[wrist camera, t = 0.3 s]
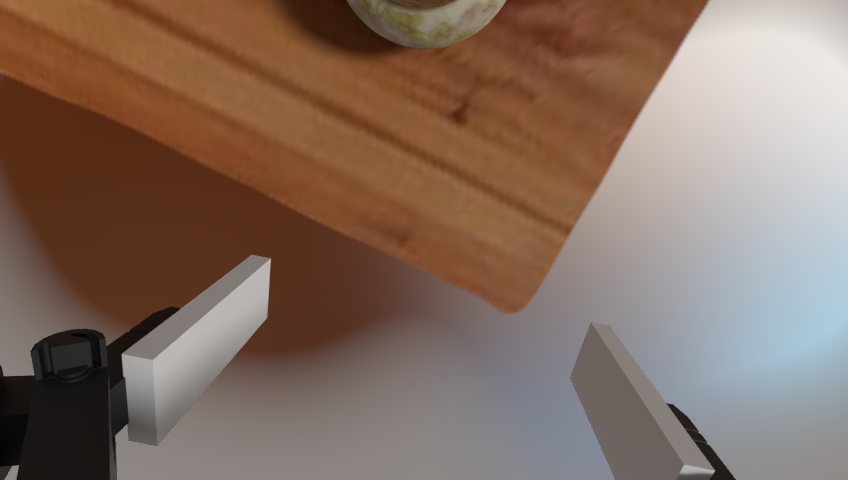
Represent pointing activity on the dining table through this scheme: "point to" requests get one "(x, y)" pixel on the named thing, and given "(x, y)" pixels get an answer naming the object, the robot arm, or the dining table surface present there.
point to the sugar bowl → (426, 20)
